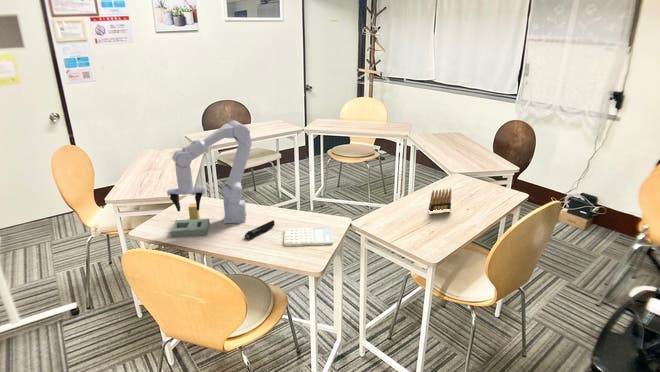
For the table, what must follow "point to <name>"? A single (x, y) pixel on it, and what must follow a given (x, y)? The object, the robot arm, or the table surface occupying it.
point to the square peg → (193, 212)
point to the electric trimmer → (259, 230)
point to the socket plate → (190, 227)
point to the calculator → (308, 236)
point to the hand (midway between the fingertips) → (188, 210)
